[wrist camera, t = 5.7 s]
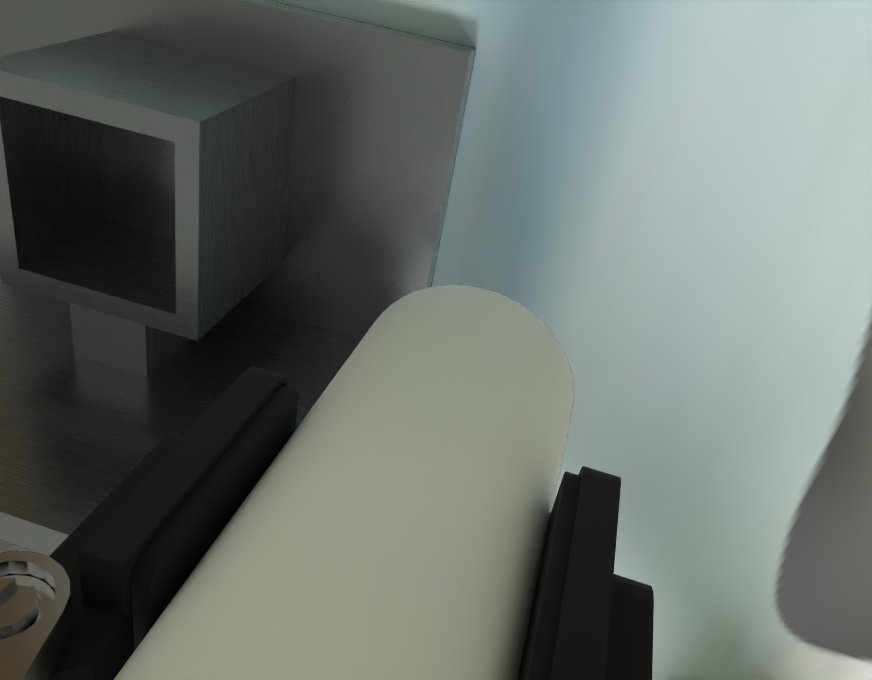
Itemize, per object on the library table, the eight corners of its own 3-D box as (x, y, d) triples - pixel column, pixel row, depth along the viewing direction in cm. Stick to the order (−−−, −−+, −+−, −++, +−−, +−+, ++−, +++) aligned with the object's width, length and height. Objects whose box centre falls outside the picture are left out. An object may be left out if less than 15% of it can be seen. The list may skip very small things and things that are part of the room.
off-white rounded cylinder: (622, 395, 13) (481, 1898, 3) (472, 506, 15) (94, 1644, 5) (452, 239, 13) (-365, 1456, 3) (321, 375, 15) (-429, 1363, 5)
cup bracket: (411, 390, 35) (268, 664, 22) (21, 275, 38) (-305, 462, 25) (476, 48, 27) (312, 173, 15) (-22, -68, 30) (-529, -48, 17)
